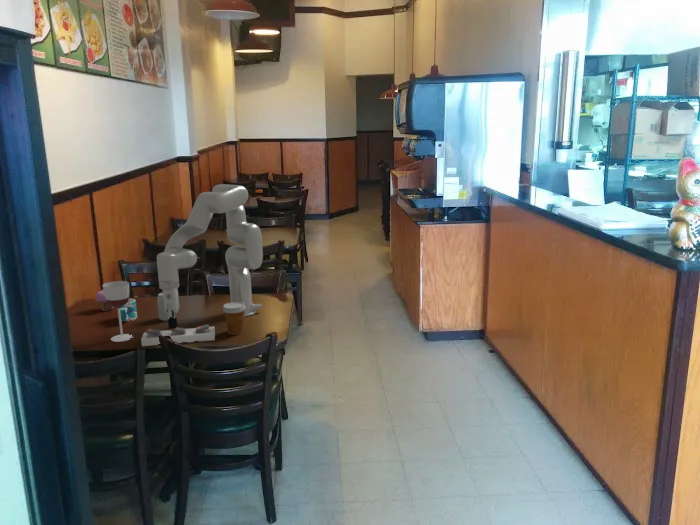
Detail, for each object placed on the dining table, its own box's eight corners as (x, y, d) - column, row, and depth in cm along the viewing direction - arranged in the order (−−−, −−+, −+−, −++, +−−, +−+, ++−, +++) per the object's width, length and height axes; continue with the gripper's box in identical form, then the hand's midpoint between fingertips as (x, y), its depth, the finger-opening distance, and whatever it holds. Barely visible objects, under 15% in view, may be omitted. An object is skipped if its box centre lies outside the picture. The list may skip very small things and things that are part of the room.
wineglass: (113, 334, 240) (106, 281, 234) (137, 333, 241) (131, 280, 235) (106, 342, 231) (99, 287, 226) (131, 341, 232) (125, 286, 226)
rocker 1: (160, 332, 231) (160, 330, 231) (159, 335, 228) (159, 332, 228) (147, 331, 230) (147, 328, 230) (146, 333, 227) (146, 331, 227)
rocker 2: (209, 326, 234) (208, 323, 234) (208, 328, 231) (208, 326, 231) (197, 329, 234) (196, 327, 233) (196, 332, 231) (195, 329, 230)
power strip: (215, 333, 239) (214, 326, 238) (214, 340, 231) (213, 332, 231) (144, 339, 234) (144, 332, 233) (141, 346, 226) (141, 339, 225)
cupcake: (118, 310, 271) (116, 290, 269) (99, 314, 266) (96, 293, 264) (114, 305, 278) (112, 286, 276) (95, 309, 274) (92, 289, 271)
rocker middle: (184, 330, 233) (185, 328, 232) (184, 333, 230) (184, 330, 229) (172, 329, 232) (172, 326, 231) (171, 331, 228) (171, 329, 228)
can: (171, 322, 254) (168, 296, 251) (155, 321, 255) (153, 295, 252) (179, 316, 261) (177, 291, 258) (164, 315, 262) (161, 290, 259)
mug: (139, 315, 264) (137, 298, 262) (133, 324, 252) (131, 306, 250) (120, 316, 263) (118, 299, 261) (113, 325, 251) (111, 307, 249)
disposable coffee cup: (226, 337, 233) (224, 309, 231) (222, 330, 242) (220, 303, 239) (249, 334, 237) (248, 306, 234) (244, 327, 246) (242, 300, 243)
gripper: (177, 287, 219) (181, 333, 223) (180, 278, 233) (184, 320, 238) (156, 289, 218) (161, 334, 222) (161, 279, 232) (165, 322, 236)
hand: (173, 327), depth 230 cm, fingers closed
